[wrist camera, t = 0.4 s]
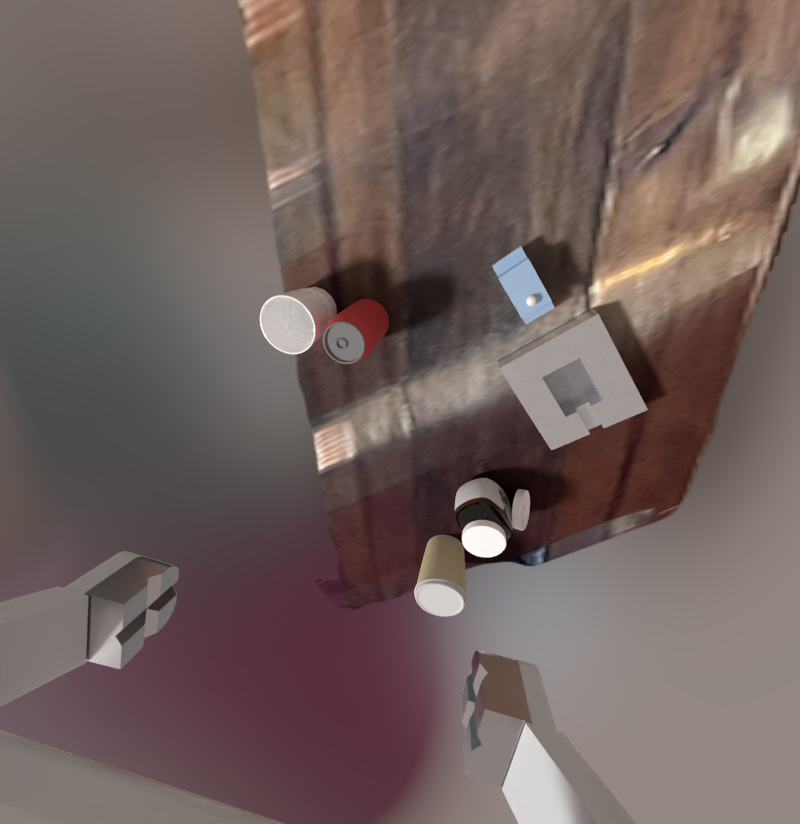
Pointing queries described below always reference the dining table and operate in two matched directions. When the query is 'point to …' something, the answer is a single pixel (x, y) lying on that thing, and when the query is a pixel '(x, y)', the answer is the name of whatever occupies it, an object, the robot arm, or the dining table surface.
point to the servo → (523, 285)
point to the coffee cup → (442, 577)
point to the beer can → (355, 331)
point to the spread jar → (489, 516)
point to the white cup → (297, 318)
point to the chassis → (572, 380)
